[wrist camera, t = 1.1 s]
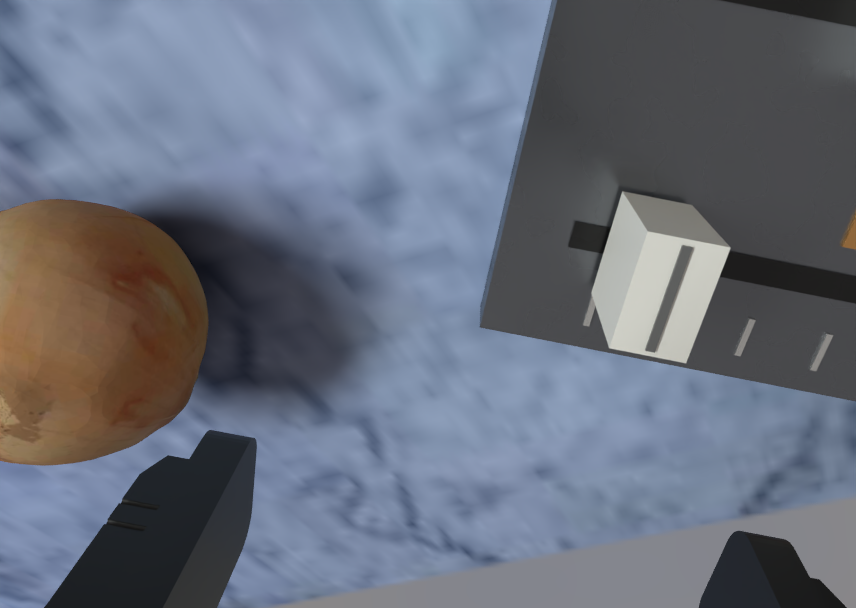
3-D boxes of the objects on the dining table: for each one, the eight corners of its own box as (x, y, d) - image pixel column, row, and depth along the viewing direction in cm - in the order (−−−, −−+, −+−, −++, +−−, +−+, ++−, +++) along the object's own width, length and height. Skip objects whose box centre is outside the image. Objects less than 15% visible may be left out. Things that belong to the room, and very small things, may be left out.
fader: (622, 191, 25) (648, 232, 21) (692, 205, 25) (731, 248, 21) (591, 292, 26) (609, 349, 22) (656, 305, 26) (686, 364, 22)
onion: (73, 119, 28) (-129, 185, 19) (285, 263, 30) (195, 387, 21) (-13, 295, 31) (-216, 421, 22) (181, 414, 33) (65, 575, 24)
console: (599, -203, 22) (609, -221, 20) (1224, -80, 22) (1294, -86, 20) (480, 306, 30) (479, 328, 28) (945, 397, 30) (976, 426, 28)
